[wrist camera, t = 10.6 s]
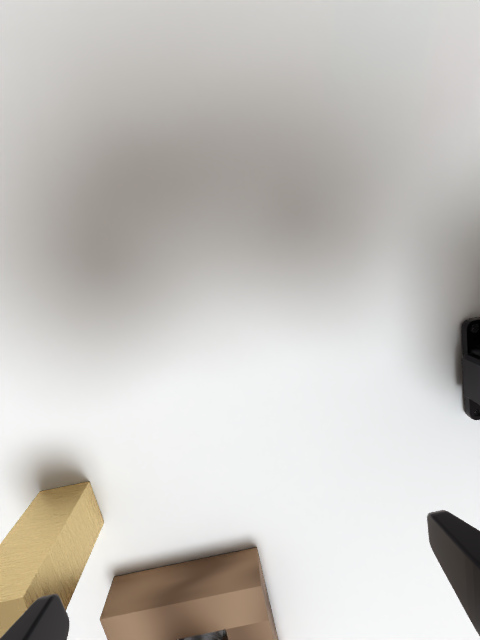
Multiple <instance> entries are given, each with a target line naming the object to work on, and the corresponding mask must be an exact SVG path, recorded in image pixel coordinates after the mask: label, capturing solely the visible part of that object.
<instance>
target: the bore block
mask: <svg viewBox="0 0 480 640" xmlns="http://www.w3.org/2000/svg"><path fill="white" fill-rule="evenodd" d="M100 621H101V624H102V626H103V629H104V631H105V634H106V637H107V639H108V640H177V639H181V638H186V637H191V636H196V635H201V634H206V633H210V632H215V631H220V630H226V633H227V635H226V636H223V640H278V637H277V632H276V628H275V624H274V619H273V615H272V611H271V606H270V602H269V598H268V593H267V589H266V585H265V580H264V576H263V572H262V567H261V563H260V559H259V554H258V550H257V547H256V548H251V549H246V550H242V551H237V552H232V553H227V554H222V555H217V556H213V557H208V558H203V559H198V560H193V561H188V562H183V563H179V564H174V565H169V566H164V567H159V568H154V569H150V570H145V571H140V572H135V573H130V574H125V575H121V576H116V577H114V578H113V581H112V584H111V587H110V590H109V593H108V596H107V599H106V602H105V605H104V608H103V611H102V614H101V617H100Z"/></svg>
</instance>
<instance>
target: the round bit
mask: <svg viewBox="0 0 480 640" xmlns="http://www.w3.org/2000/svg"><path fill="white" fill-rule="evenodd" d="M179 640H223V630H220V631H215V632H210V633H206V634H201V635H196V636H191V637H186V638H181V639H179Z"/></svg>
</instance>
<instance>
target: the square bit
mask: <svg viewBox="0 0 480 640" xmlns="http://www.w3.org/2000/svg"><path fill="white" fill-rule="evenodd" d="M103 524H104V521H103V518H102V515H101V512H100V509H99V507H98V504H97V501H96V498H95V495H94V493H93V490H92V487H91V484H90V481H88V482H83V483H79V484H74V485H69V486H64V487H59V488H54V489H49V490H45V491H40V492H39V493H38V495H37V496H36V497H35V499H34V500H33V501H32V503H31V504H30V505H29V507H28V508H27V509H26V511H25V512H24V513H23V515H22V516H21V517H20V519H19V520H18V521H17V523H16V524H15V525H14V527H13V528H12V529H11V531H10V532H9V533H8V535H7V536H6V537H5V539H4V540H3V541H2V543H1V544H0V638H1V637H2V636H3V635H4V634H5V633H6V632H7V630H8V629H9V628H10V627H11V626H12V625H13V624H14V623H15V622H16V621H17V620H18V619H19V618H20V617H21V615H22V614H23V613H24V612H25V611H26V610H27V609H28V608H29V607H30V606H31V605H32V604H33V603H34V602H35V601H36V600H37V599H38V598H40V597H42V596H47V595H51V594H57V595H58V596H59V597H60V599H61V601H62V603H63V606H64V608H65V610H66V609H67V606H68V604H69V602H70V600H71V597H72V595H73V593H74V590H75V588H76V586H77V583H78V581H79V579H80V577H81V574H82V572H83V570H84V567H85V565H86V563H87V561H88V558H89V556H90V554H91V551H92V549H93V547H94V544H95V542H96V540H97V538H98V535H99V533H100V531H101V528H102V526H103Z"/></svg>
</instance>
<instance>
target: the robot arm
mask: <svg viewBox="0 0 480 640" xmlns="http://www.w3.org/2000/svg"><path fill="white" fill-rule="evenodd" d="M472 325H474V328H473V330H471V327H472ZM462 347H463V358H462V365H463V387H464V395H465V412H466V414H467V415H468V416H469V417H470V418H472V419H474V420H480V317H476V318H471V319H468V320H466V321H465V322H464V323H463V325H462ZM475 410H477V411H476V412H475V413H474V411H475ZM427 522H428V533H429V542H430V545H431V548H432V550H433V552H434V554H435V556H436V558H437V560H438V562H439V563H440V565H441V567H442V569H443V571H444V573H445V574H446V576H447V578H448V580H449V582H450V584H451V585H452V587H453V589H454V591H455V593H456V595H457V596H458V598H459V600H460V602H461V604H462V606H463V608H464V609H465V611H466V613H467V615H468V617H469V618H470V620H471V622H472V624H473V626H474V627H475V629H476V631H477V632H478V634H479V636H480V531H479V530H477V529H476V528H474V527H472V526H471V525H469V524H467V523H466V522H464V521H463V520H461V519H459V518H458V517H456V516H454V515H453V514H451V513H449V512H448V511H445V510H440V511H436V512H431V513H429V514H428V516H427ZM68 632H69V617H68V615H67V613H66V610H65V608H64V606H63V603H62V601H61V599H60V597H59V596H58V595H57V594H51V595H47V596H42V597H40V598H38V599H37V600H36V601H35V602H34V603H33V604H32V605H31V606H30V607H29V608H28V609H27V610H26V611H25V612H24V613H23V614H22V615H21V617H20V618H19V619H18V620H17V621H16V622H15V623H14V624H13V625H12V626H11V627H10V628H9V629H8V630H7V632H6V633H5V634H4V635H3V636H2V637H1V638H0V640H67V636H68Z"/></svg>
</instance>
